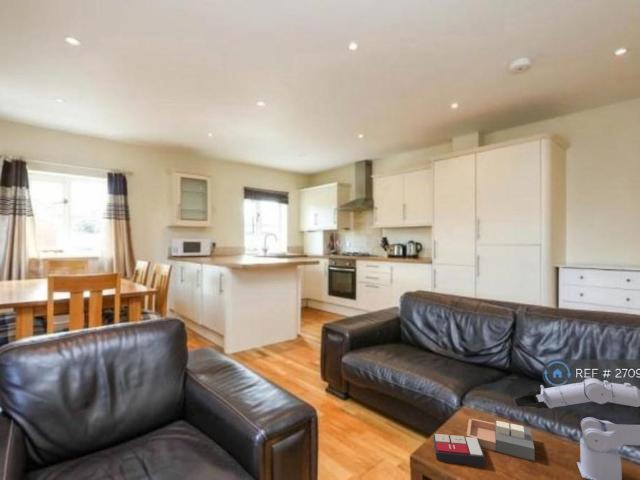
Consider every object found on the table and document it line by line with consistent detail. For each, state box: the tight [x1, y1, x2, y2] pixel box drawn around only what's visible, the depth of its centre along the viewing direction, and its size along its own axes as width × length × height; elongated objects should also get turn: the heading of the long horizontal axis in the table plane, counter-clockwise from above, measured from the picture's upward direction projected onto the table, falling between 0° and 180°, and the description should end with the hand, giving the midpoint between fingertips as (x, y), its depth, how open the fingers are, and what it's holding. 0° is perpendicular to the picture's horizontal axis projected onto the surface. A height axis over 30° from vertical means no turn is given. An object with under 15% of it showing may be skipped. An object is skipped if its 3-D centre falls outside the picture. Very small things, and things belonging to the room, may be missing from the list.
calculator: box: [433, 433, 486, 469], centre depth 113 cm, size 11×4×15 cm
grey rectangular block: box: [495, 423, 536, 462], centre depth 118 cm, size 11×14×4 cm
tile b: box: [495, 420, 510, 435], centre depth 119 cm, size 4×4×2 cm
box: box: [466, 417, 496, 452], centre depth 123 cm, size 9×14×3 cm, turn 152°
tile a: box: [509, 423, 525, 439], centre depth 117 cm, size 4×4×2 cm
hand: (518, 402), depth 114 cm, fingers open, 7 cm apart
